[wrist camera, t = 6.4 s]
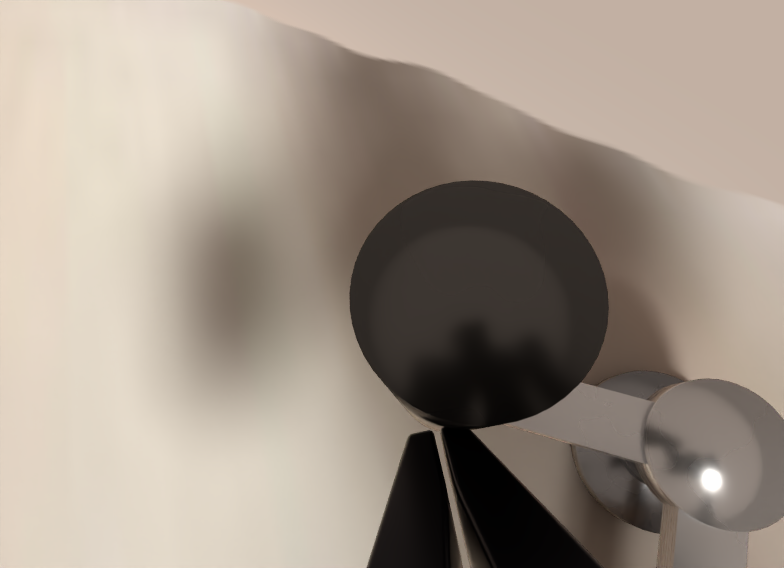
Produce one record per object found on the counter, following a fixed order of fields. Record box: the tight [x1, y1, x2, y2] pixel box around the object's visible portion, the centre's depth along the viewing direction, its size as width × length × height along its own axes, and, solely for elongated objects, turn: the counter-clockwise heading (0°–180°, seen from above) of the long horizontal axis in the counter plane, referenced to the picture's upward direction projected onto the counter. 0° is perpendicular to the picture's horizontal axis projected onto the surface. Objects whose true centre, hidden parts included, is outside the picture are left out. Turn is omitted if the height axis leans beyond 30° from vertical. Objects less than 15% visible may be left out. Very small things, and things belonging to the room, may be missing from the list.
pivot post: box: [571, 371, 684, 534], centre depth 14 cm, size 5×5×3 cm
